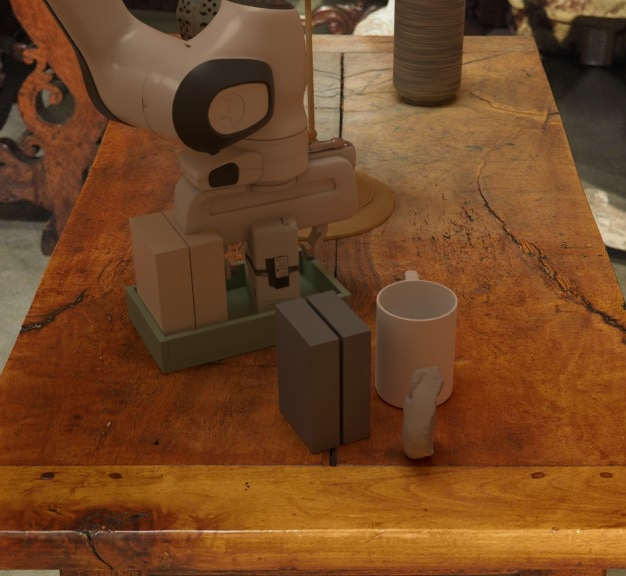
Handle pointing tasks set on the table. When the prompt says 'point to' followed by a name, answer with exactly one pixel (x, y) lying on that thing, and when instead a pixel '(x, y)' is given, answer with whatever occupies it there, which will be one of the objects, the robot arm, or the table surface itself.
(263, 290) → the ink box
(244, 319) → the book trough
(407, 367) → the mug
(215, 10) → the lantern
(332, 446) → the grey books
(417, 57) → the vase
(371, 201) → the desk lamp
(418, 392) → the fossil
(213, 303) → the cream books
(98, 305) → the table surface
